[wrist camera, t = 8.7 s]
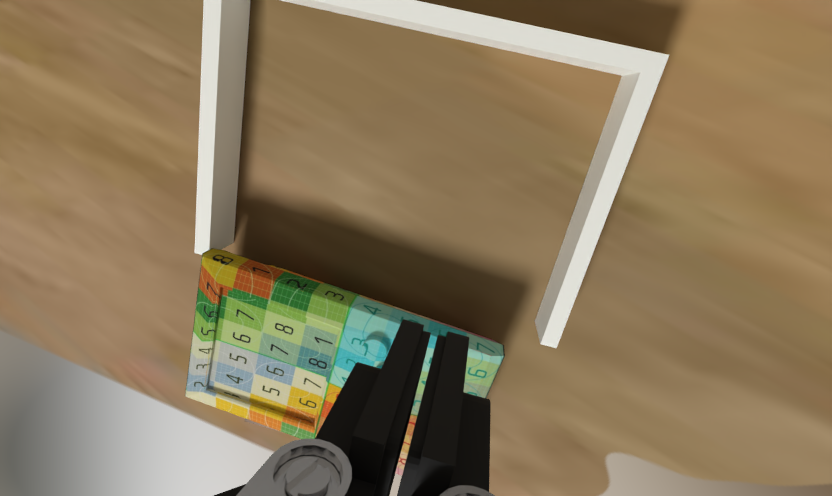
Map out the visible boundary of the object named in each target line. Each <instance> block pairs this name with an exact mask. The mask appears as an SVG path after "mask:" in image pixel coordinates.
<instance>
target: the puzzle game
mask: <svg viewBox="0 0 832 496" xmlns="http://www.w3.org/2000/svg"><path fill="white" fill-rule="evenodd" d="M403 319H405V320H408V321H412V322H416V323H419V324H423V325H424V328H423V331H426V332H430V333H431V335H430V339H429V343H428V347H427V351H426V355H425V359H424V363H423V368H422V372H421V376H420V380H419V384H418V388H417V392H416V396H415V400H414V404H413V408H412V412H411V416H410V420H409V424H408V428H407V432H406V435H405V439H404V443H403V446H402V450H401V454H400V457H399V461H398V465H397V468H396V472H395V473H396V474H399V475H402V474H403V470H404V466H405V462H406V459H407V455H408V451H409V447H410V443H411V439H412V435H413V431H414V427H415V423H416V419H417V415H418V411H419V407H420V403H421V399H422V395H423V391H424V387H425V384H426V380H427V376H428V372H429V368H430V364H431V360H432V356H433V352H434V348H435V344H436V340H437V336H438V335H441V336H445V337H446V336H447V332H448V331H449V332H453V333H456V334H460V335H464V336H467V337H469V347H468V356H467V365H466V374H465V383H464V392H465V393H468V394H472V395H475V396H479V397H482V398H486V397H487V395H488V393H489V390H490V388H491V386H492V384H493V381H494V379H495V377H496V375H497V372H498V370H499V368H500V365H501V363H502V361H503V359H504V356H505V354H504V345H502V344H500V343H498V342H496V341H494V340H492V339H489V338H486V337H484V336H481V335H478V334H475V333H472V332H469V331H466V330H463V329H460V328H457V327H454V326H451V325H448V324H445V323H442V322H439V321H436V320H433V319H430V318H427V317H424V316H421V315H418V314H416V313H413V312H410V311H407V310H404V309H401V308H398V307H395V306H392V305H389V304H386V303H383V302H380V301H377V300H374V299H371V298H368V297H365V296H362V295H359V294H356V293H353V292H350V291H348V290H345V289H342V288H339V287H336V286H333V285H330V284H327V283H324V282H321V281H318V280H315V279H312V278H309V277H306V276H303V275H300V274H297V273H294V272H291V271H288V270H285V269H282V268H280V267H277V266H274V265H265V264H262V263H259V262H256V261H253V260H250V259H247V258H244V257H241V256H238V255H235V254H232V253H230V252H227V251H224V250H219V249H214V248H211V249H210V250H208V251H206V252H204V253H202V261H201V269H200V278H199V286H198V294H197V302H196V311H195V319H194V327H193V336H192V344H191V352H190V360H189V369H188V377H187V385H186V394H185V396H186V397H188V398H191V399H194V400H197V401H199V402H202V403H205V404H208V405H210V406H213V407H216V408H218V409H221V410H224V411H227V412H229V413H232V414H235V415H238V416H240V417H243V418H246V419H249V420H251V421H254V422H257V423H259V424H262V425H265V426H268V427H270V428H273V429H276V430H279V431H281V432H284V433H287V434H290V435H292V436H295V437H298V438H300V439H306V438H307V439H315V438H316V436H317V434H318V432H319V430H320V428H321V426H322V425H323V423H324V421H325V419H326V417H327V415H328V413H329V412H330V410H331V408H332V406H333V404H334V402H335V400H336V399H337V397H338V395H339V393H340V391H341V389H342V387H343V386H344V384H345V382H346V380H347V378H348V376H349V375H350V373H351V371H352V369H353V367H354V366H355V364H356V363H357V362H359V363H363V364H366V365H370V366H373V367H377V368H380V369H381V368H382V366H383V364H384V361H385V359H386V357H387V354H388V352H389V350H390V347H391V345H392V343H393V340H394V338H395V336H396V333H397V331H398V329H399V327H400V324H401V322H402V320H403Z"/></svg>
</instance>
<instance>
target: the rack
mask: <svg viewBox="0 0 832 496" xmlns="http://www.w3.org/2000/svg"><path fill="white" fill-rule="evenodd" d="M250 1H251V0H204V8H203V36H202V63H201V91H200V119H199V147H198V175H197V202H196V230H195V253H197V254H201V255H202V253H204V252H206V251H208V250H210V249H211V248H214V249H219V250H222V249H223V248H225V247H227V246H229V245H230V244H232V243H234V231H235V217H236V203H237V188H238V174H239V159H240V145H241V131H242V116H243V102H244V88H245V73H246V59H247V44H248V30H249V16H250ZM281 1H286V2H290V3H295V4H299V5H304V6H308V7H313V8H317V9H322V10H326V11H331V12H335V13H340V14H345V15H349V16H354V17H358V18H363V19H367V20H372V21H376V22H381V23H385V24H390V25H394V26H399V27H404V28H408V29H413V30H417V31H422V32H426V33H431V34H435V35H440V36H444V37H449V38H453V39H458V40H463V41H467V42H472V43H476V44H481V45H485V46H490V47H494V48H499V49H503V50H508V51H513V52H517V53H522V54H526V55H531V56H535V57H540V58H544V59H549V60H553V61H558V62H562V63H567V64H572V65H576V66H581V67H585V68H590V69H594V70H599V71H603V72H608V73H612V74H617V75H621V76H622V77H621V80H620V83H619V86H618V89H617V91H616V94H615V97H614V100H613V103H612V105H611V108H610V111H609V114H608V117H607V119H606V122H605V125H604V128H603V131H602V134H601V136H600V139H599V142H598V145H597V148H596V150H595V153H594V156H593V159H592V162H591V165H590V167H589V170H588V173H587V176H586V179H585V181H584V184H583V187H582V190H581V193H580V195H579V198H578V201H577V204H576V207H575V210H574V212H573V215H572V218H571V221H570V224H569V226H568V229H567V232H566V235H565V238H564V241H563V243H562V246H561V249H560V252H559V255H558V257H557V260H556V263H555V266H554V269H553V271H552V274H551V277H550V280H549V283H548V286H547V288H546V291H545V294H544V297H543V300H542V302H541V305H540V308H539V311H538V314H537V317H536V319H535V324H536V328H537V332H538V336H539V340H540V344H542V345H546V346H550V347H553V348H557V345H558V343H559V340H560V338H561V335H562V332H563V330H564V327H565V325H566V322H567V319H568V317H569V314H570V312H571V309H572V306H573V304H574V301H575V299H576V296H577V293H578V291H579V288H580V286H581V283H582V280H583V278H584V275H585V273H586V270H587V267H588V265H589V262H590V260H591V257H592V254H593V252H594V249H595V247H596V244H597V241H598V239H599V236H600V234H601V231H602V228H603V226H604V223H605V221H606V218H607V215H608V213H609V210H610V208H611V205H612V202H613V200H614V197H615V195H616V192H617V189H618V187H619V184H620V182H621V179H622V177H623V174H624V171H625V169H626V166H627V164H628V161H629V158H630V156H631V153H632V151H633V148H634V145H635V143H636V140H637V138H638V135H639V132H640V130H641V127H642V125H643V122H644V119H645V117H646V114H647V112H648V109H649V106H650V104H651V101H652V99H653V96H654V93H655V91H656V88H657V86H658V83H659V80H660V78H661V75H662V73H663V70H664V67H665V65H666V62H667V60H668V57H669V55H667V54H662V53H658V52H653V51H649V50H644V49H639V48H635V47H630V46H625V45H621V44H616V43H611V42H607V41H602V40H598V39H593V38H588V37H584V36H579V35H574V34H570V33H565V32H560V31H556V30H551V29H547V28H542V27H537V26H533V25H528V24H523V23H519V22H514V21H509V20H505V19H500V18H495V17H491V16H486V15H482V14H477V13H472V12H468V11H463V10H458V9H454V8H449V7H444V6H440V5H435V4H431V3H426V2H421V1H417V0H281Z"/></svg>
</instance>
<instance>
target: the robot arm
mask: <svg viewBox="0 0 832 496" xmlns="http://www.w3.org/2000/svg"><path fill="white" fill-rule="evenodd" d="M423 328H424V325H423V324H419V323H416V322H412V321H408V320H405V319H403V320H402V322H401V324H400V327H399V329H398V331H397V333H396V336H395V338H394V340H393V343H392V345H391V347H390V350H389V352H388V354H387V357H386V359H385V361H384V364H383V366H382V368H381V369H380V368H377V367H373V366H370V365H366V364H363V363H359V362H357V363H356V364H355V366H354V367H353V369H352V371H351V373H350V375H349V376H348V378H347V380H346V382H345V384H344V386H343V387H342V389H341V391H340V393H339V395H338V397H337V399H336V400H335V402H334V404H333V406H332V408H331V410H330V412H329V413H328V415H327V417H326V419H325V421H324V423H323V425H322V426H321V428H320V430H319V432H318V434H317V436H316V438H315V439H307V438H306V439H301V440H296V441H292V442H290V443H288V444H286V445H284V446H282V447H280V448H279V449H278V450H277V451H276V452H275V453H273V454H272V455H271V457H270V458H269V459H268V460H267V461H266V462H265V464H263V466H262V467H261V468H260V469H259V470H258V471H257V472H256V474H255V475H254V476H253V477H252V478H251V479H250V480H249V482H248V483H247V484H245V485H242V486H240V487H237V488H234V489H231V490H228V491H225V492H223V493H220V494H217V495H214V496H389V494H390V490H391V486H392V483H393V479H394V476H395V472H396V468H397V465H398V461H399V457H400V454H401V450H402V446H403V443H404V439H405V435H406V432H407V428H408V424H409V420H410V416H411V412H412V408H413V404H414V400H415V396H416V392H417V388H418V384H419V380H420V376H421V372H422V368H423V363H424V359H425V355H426V351H427V347H428V343H429V339H430V335H431V333H430V332H426V331H423ZM468 347H469V337H467V336H464V335H460V334H456V333H453V332H449V331H448V332H447V336H446V337H445V336H441V335H438V336H437V340H436V344H435V348H434V352H433V356H432V360H431V364H430V368H429V372H428V376H427V380H426V384H425V387H424V391H423V395H422V399H421V403H420V407H419V411H418V415H417V419H416V423H415V427H414V431H413V435H412V439H411V443H410V447H409V451H408V455H407V459H406V462H405V466H404V470H403V474H402V479H401V482H400V486H399V490H398V494H397V496H495V495H493V494H491V493H489V459H490V400H489V399H486V398H482V397H479V396H475V395H472V394H468V393H465V392H464V383H465V374H466V365H467V356H468Z"/></svg>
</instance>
